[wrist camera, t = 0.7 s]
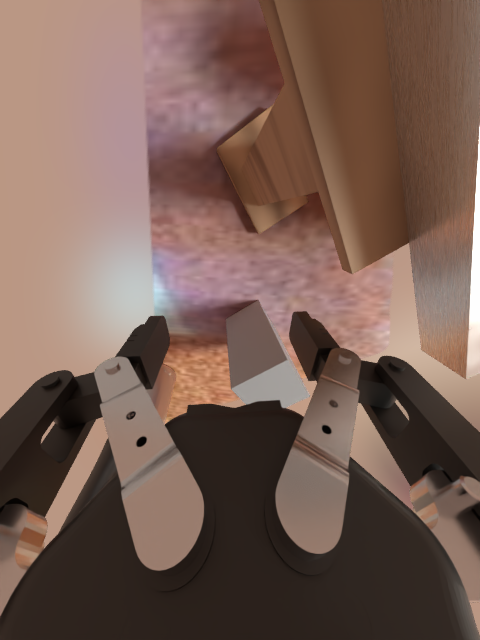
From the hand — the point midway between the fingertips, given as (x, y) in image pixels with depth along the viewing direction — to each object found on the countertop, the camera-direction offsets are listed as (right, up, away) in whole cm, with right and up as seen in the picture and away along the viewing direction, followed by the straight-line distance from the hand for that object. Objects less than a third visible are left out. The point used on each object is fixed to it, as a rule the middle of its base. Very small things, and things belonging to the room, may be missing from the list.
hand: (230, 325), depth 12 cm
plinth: (+3, -1, +35) cm, 35 cm away
